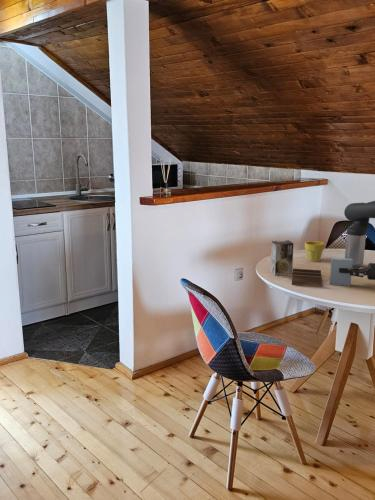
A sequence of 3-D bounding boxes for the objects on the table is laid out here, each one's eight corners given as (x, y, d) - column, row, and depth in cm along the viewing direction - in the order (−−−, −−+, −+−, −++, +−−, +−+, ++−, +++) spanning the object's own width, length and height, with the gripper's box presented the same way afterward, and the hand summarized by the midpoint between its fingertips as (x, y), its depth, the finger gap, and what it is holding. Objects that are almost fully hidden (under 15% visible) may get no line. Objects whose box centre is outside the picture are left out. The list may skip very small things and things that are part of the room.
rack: (292, 277, 226) (292, 268, 225) (320, 279, 223) (320, 270, 222) (291, 284, 215) (292, 275, 214) (321, 286, 212) (321, 277, 211)
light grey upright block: (329, 282, 218) (331, 257, 216) (349, 284, 216) (352, 258, 213) (329, 284, 215) (331, 259, 213) (350, 286, 213) (352, 260, 211)
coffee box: (287, 271, 236) (289, 240, 233) (292, 275, 230) (294, 242, 226) (270, 272, 235) (271, 240, 231) (274, 276, 229) (276, 243, 225)
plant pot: (301, 258, 263) (302, 240, 261) (320, 257, 263) (321, 240, 261) (306, 262, 253) (308, 245, 251) (326, 262, 253) (327, 245, 251)
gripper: (377, 259, 216) (338, 257, 220) (382, 267, 203) (340, 265, 207) (376, 275, 218) (337, 273, 222) (380, 284, 205) (339, 281, 209)
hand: (339, 269), depth 214 cm, fingers closed on light grey upright block, 3 cm apart
